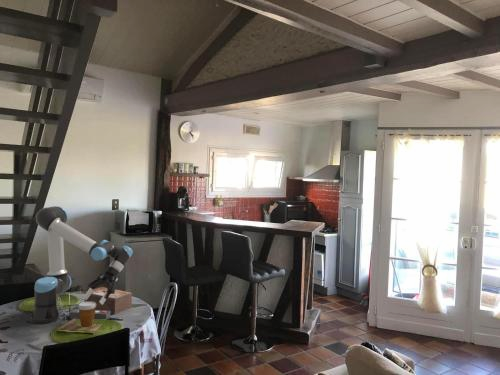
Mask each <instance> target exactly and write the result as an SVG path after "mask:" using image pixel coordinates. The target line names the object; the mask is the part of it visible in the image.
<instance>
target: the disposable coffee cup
mask: <svg viewBox="0 0 500 375" xmlns="http://www.w3.org/2000/svg"><path fill="white" fill-rule="evenodd" d="M96 306H97V305H96V303H95V302H93V301H86V302H85V301H81V302H80V303H78V306H77V309H79V314H80V323H81V326H82V327H90V326H92V325H93V321H94V314H95V308H96Z"/></svg>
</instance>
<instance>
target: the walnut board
mask: <svg viewBox="0 0 500 375" xmlns="http://www.w3.org/2000/svg"><path fill="white" fill-rule="evenodd" d="M78 321H80V319H70V320H69V321H68V322H66V323H65V324H63V325H61V326H60V327H58V329H57V331H58V330H69V331H92V332H94V331H96V330H97V329H98V328H99V327H100V326H101V325H102V323H101V324H97V325H96V324H94V325H92V327H91V328H88V327H87V328H86V329H85V328H82V327H81V326H78V324H77V322H78Z"/></svg>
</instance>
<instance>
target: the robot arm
mask: <svg viewBox="0 0 500 375" xmlns="http://www.w3.org/2000/svg"><path fill="white" fill-rule="evenodd" d="M68 213H69V212H68V211H67V210H66V209H65V208H64V207H62V206H57V205H56V206H54V205H53V206H48V207H42V208H40V209H39V210H38V211H37V212H36V214H35V222H36V224H37V225H38V227H40V228H41V229H43V230H44V231H46V233H47V234H46V235H47V248H48V249H47V250H48V251H47V252H48V270H49V271H48V272H47V273H46V276H44V277H41V278H39V279H37V280H36V281H35V283H34V286H33V287H34V288H33V289H34V302H33V303H34V305H33V306H34V308H33V310H32V312H31V316H30V322H31V323H32V324H35V325H36V324H37V325H43V324H45V325H46V324H51V323H55V322H57V321H58V320H60V318H61V313H60V311H59V307H58V296H60V295H63V294H64V293H66V292H67V291H68V290H69V289H70V287H71V285H72V278H71V276H69V273H68V270H67V269H66V266H65V251H64V250H65V247H64V246H65V245H64V241H67V242H69V243H70V244H72V245H74V246H75V247H77V248H79V249H80V250H82V251H84V252H85V253H87V254H88V255H90V256H91V258H92V259H93V261H101V260H104V259H105V258H107V257H110V258H112V259H113V260H112V261H111V262H110V264H109V266H108V267H107V268H106V269H105V272H104V273H105V274H102V273H100V274H99V275H98V276H97V277H96V278H95V279H93V280H92V281H91V282H90V283H89V284H87V286H88V288H87V291H85V292H86V294H85V293H84V296H83V299H84V301H85V300H87V299H88V298H89V296H90V295H91V293H92V292H93V290H94V289H97V287H98V288H99V286H101V285H105V284H106V288H107V292H105V294H104V295H103V297H102V298H101V300H100V301H99V302H100V303H101V304H102V305H103V303H104V302H105V300H106V299H107V298H108V297H109V295H110V294H114V293H115V290H116V289H117V284H118V282H119V278H118V276H119V275H120V273H121V271H122V270H123V269H124V267H125V266H126V264H127V263H128V262H129V260H130V259H131V256H132V255H133V253H134V252H133V249H132V248H130V246H128V245H127V246H126V245H122V247H121V246H118V245H116V244H114V243H112V242H111V241H108V240H107V239H103V240H102V241H101V242H100V243H99V242H97V241H95V240H93V238H90V237H89V236H87V235H85V234H83V233H81V232H80V231H79V230H77V229H75V228H73V227H72V226H70V225H69V224H67V223H66V222H67V221H68V218H69V215H68Z"/></svg>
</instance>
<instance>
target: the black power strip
mask: <svg viewBox="0 0 500 375" xmlns="http://www.w3.org/2000/svg"><path fill="white" fill-rule="evenodd" d="M69 319H70V320H72V319H80V314H79V308H74V309H72V310H71V311H70V312H69ZM94 319H108V320H113V321H114V320H115V321H123V320H124V318H122V317H111V311H105V310H95V314H94Z"/></svg>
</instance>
